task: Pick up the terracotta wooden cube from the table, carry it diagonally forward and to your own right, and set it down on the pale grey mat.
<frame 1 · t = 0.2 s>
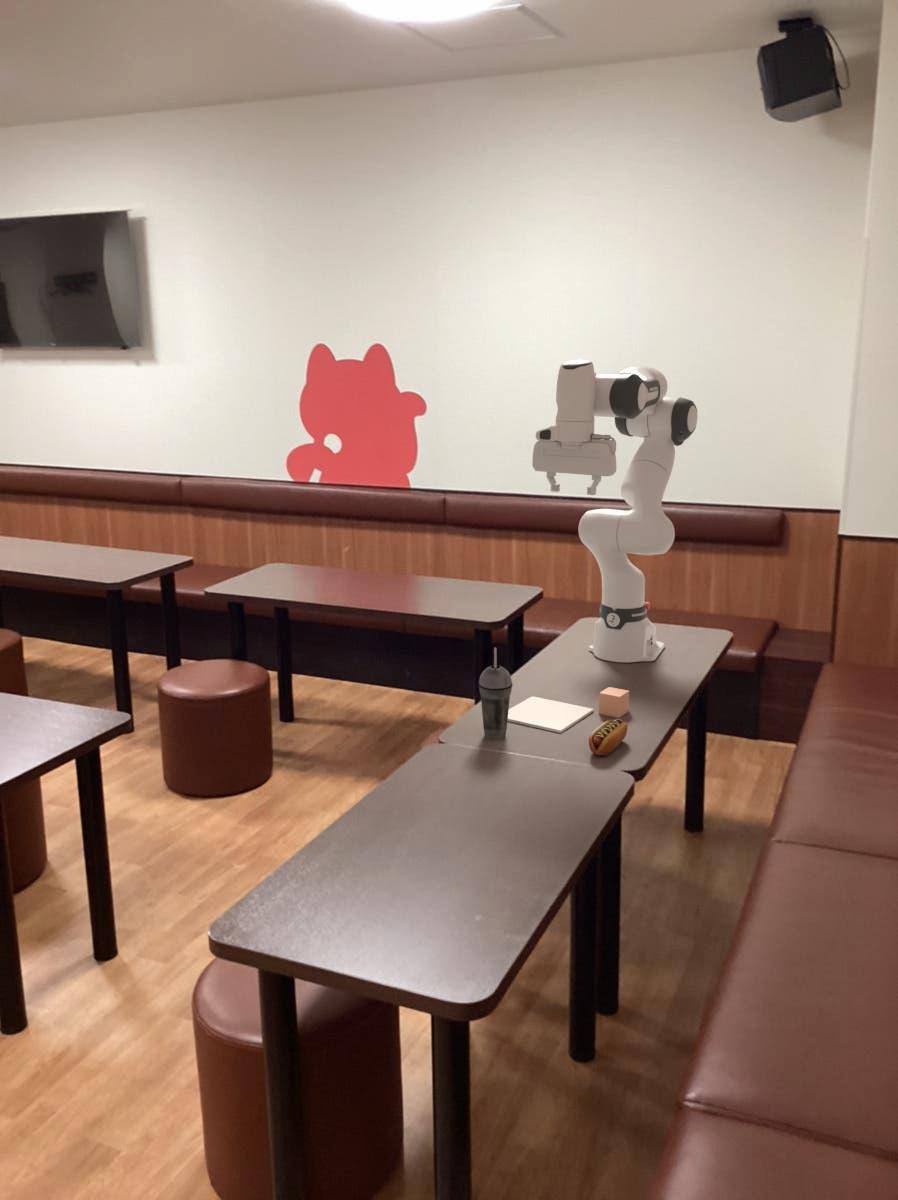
hand: (573, 493, 242), 47 cm above the table, tool pointing down, fingers open, 8 cm apart
beverage cup: (495, 736, 223), on the table
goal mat: (545, 715, 235), on the table
hot dog: (606, 749, 216), on the table
cube: (613, 712, 237), on the table
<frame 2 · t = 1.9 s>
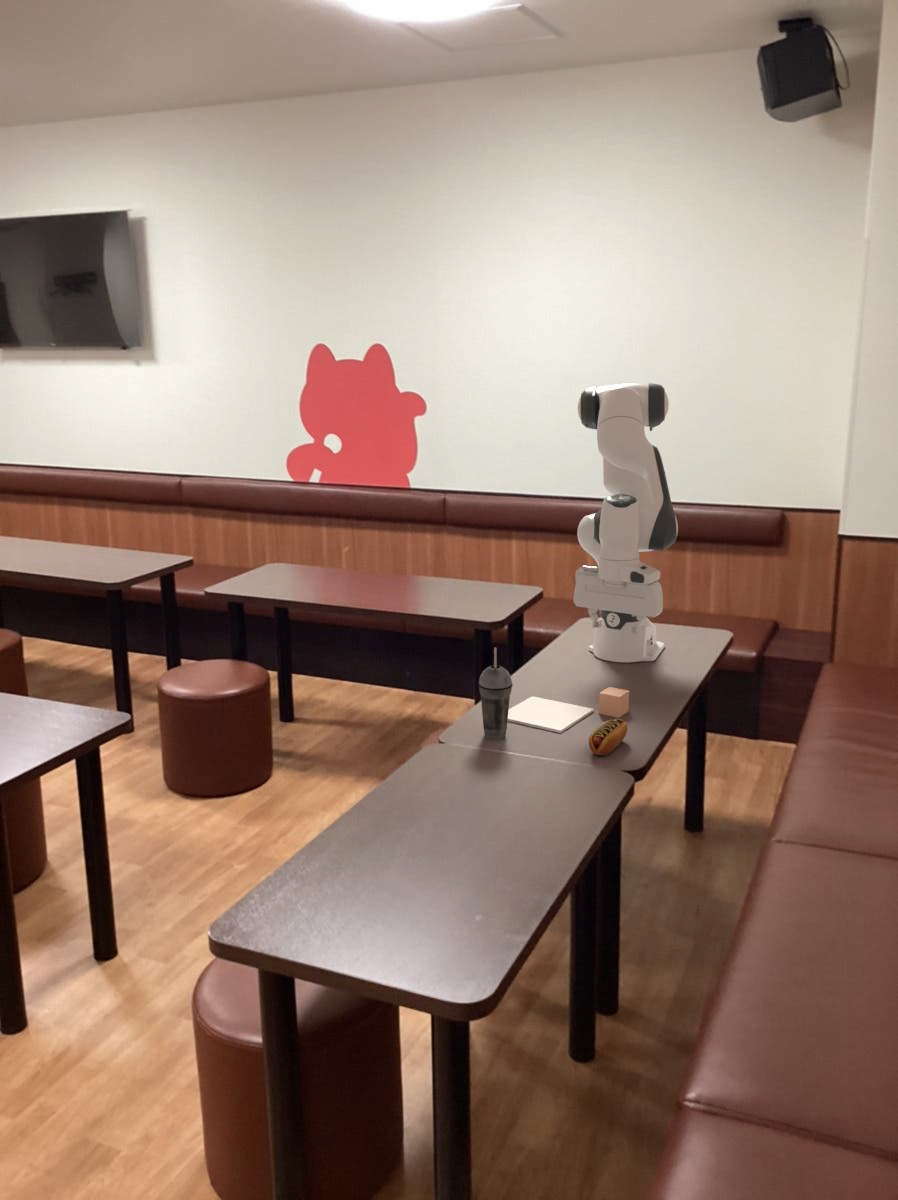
hand: (616, 630, 232), 19 cm above the table, tool pointing down, fingers open, 8 cm apart
nothing on the table moved.
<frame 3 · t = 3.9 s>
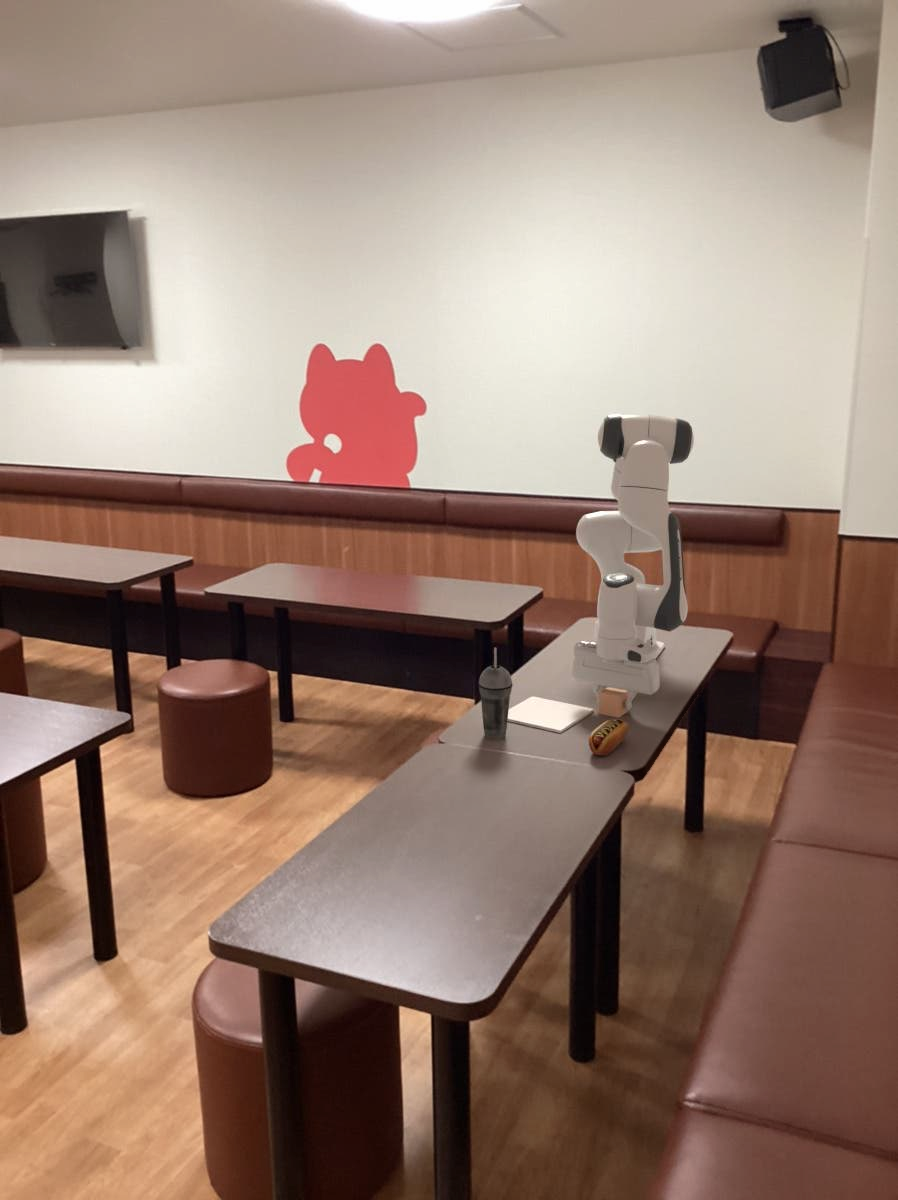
hand: (613, 705, 236), 2 cm above the table, tool pointing down, fingers closed on cube, 5 cm apart
cube: (613, 712, 237), on the table, touching gripper
everything else where it was.
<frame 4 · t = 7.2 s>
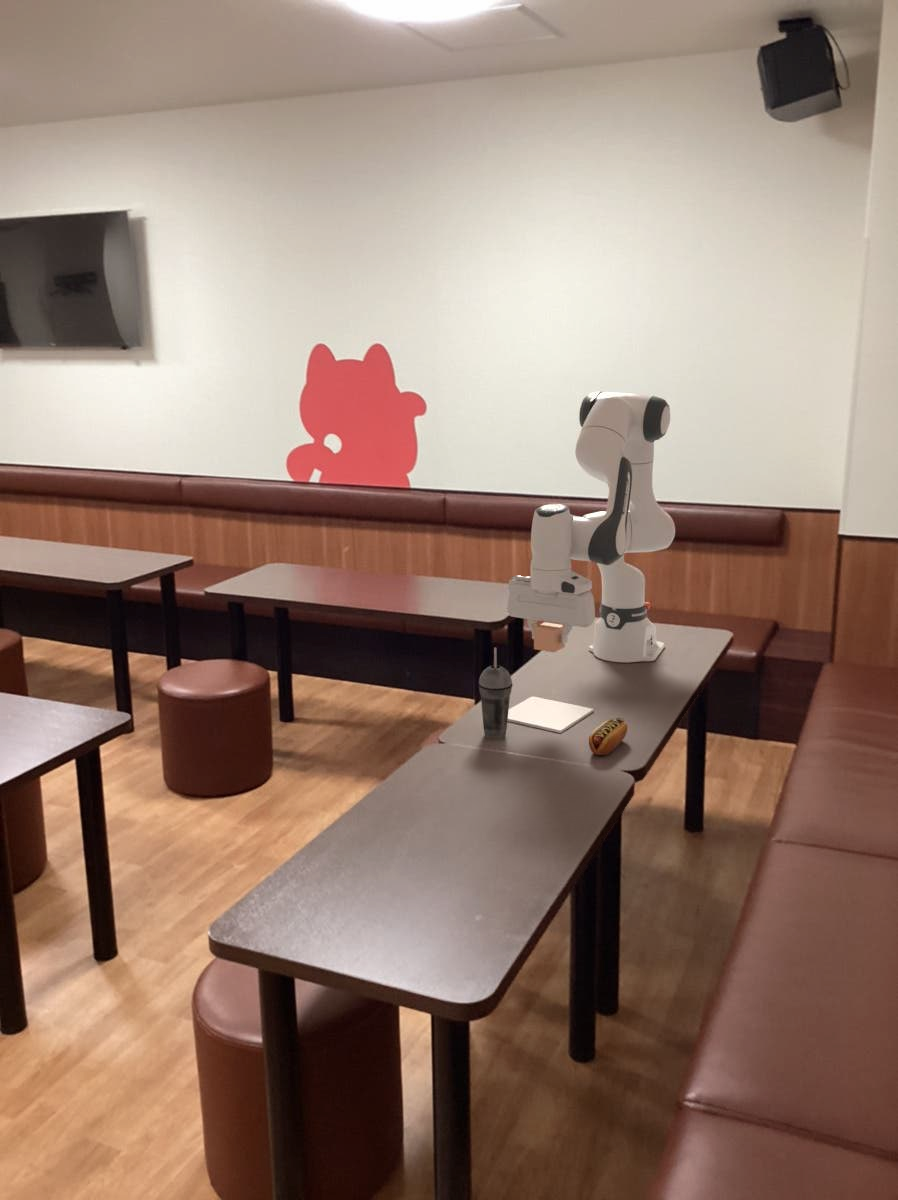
hand: (549, 640, 231), 17 cm above the table, tool pointing down, fingers closed on cube, 5 cm apart
cube: (549, 648, 231), point 16 cm above the table, touching gripper
everything else where it was.
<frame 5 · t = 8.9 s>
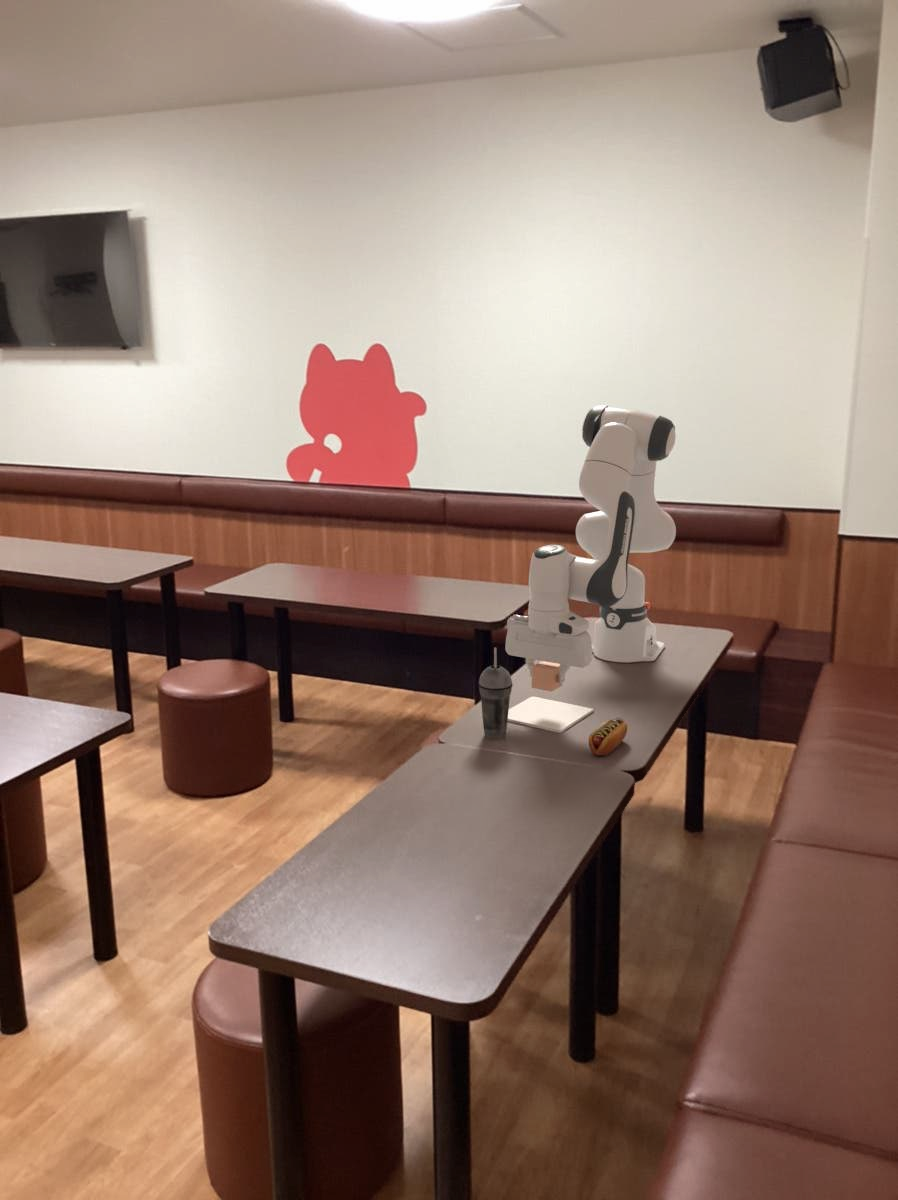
hand: (547, 679, 233), 8 cm above the table, tool pointing down, fingers closed on cube, 5 cm apart
cube: (547, 686, 233), point 7 cm above the table, touching gripper
everything else where it was.
when the fingers open (4 cm above the table, at t = 10.2 s): cube drops 2 cm, resting on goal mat.
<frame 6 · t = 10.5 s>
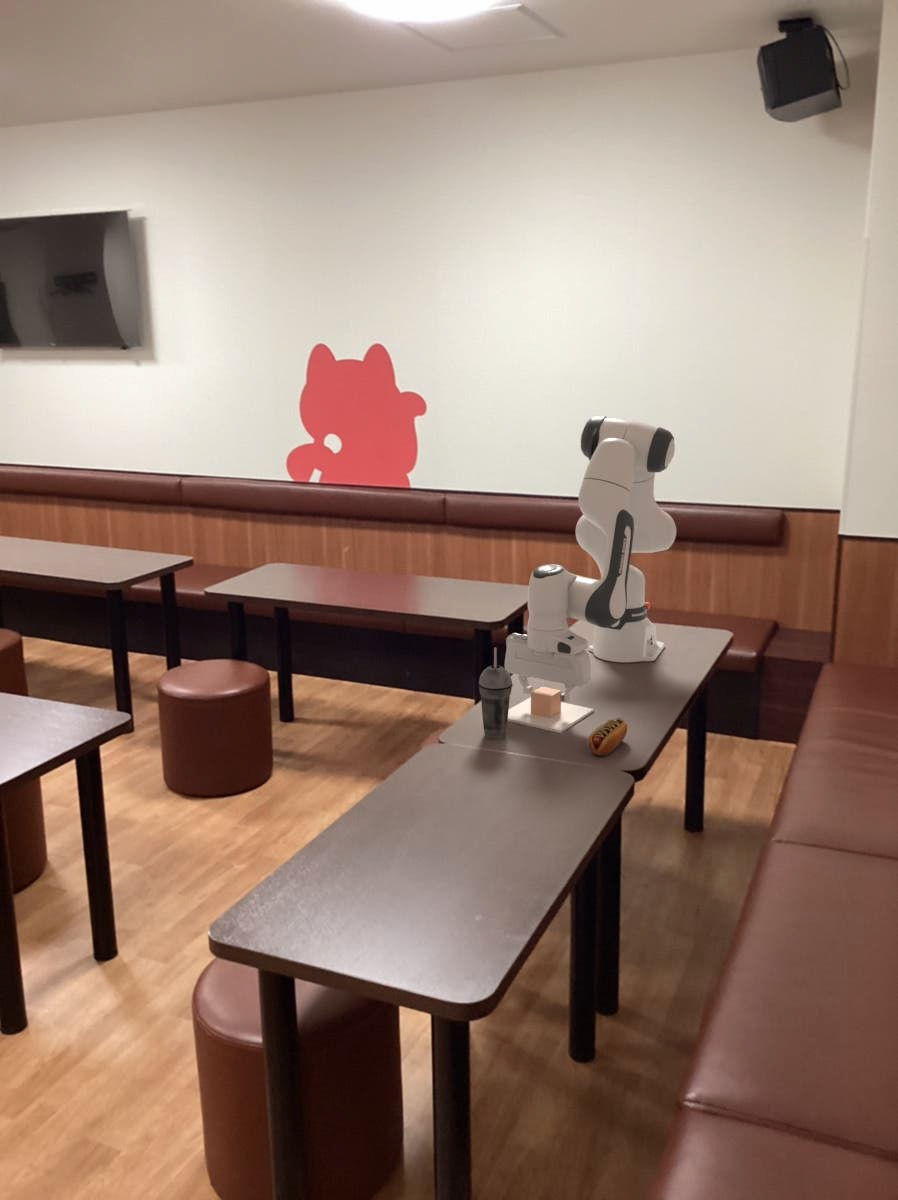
hand: (546, 697, 234), 4 cm above the table, tool pointing down, fingers open, 8 cm apart
cube: (545, 712, 235), point 1 cm above the table, touching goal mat
everything else where it was.
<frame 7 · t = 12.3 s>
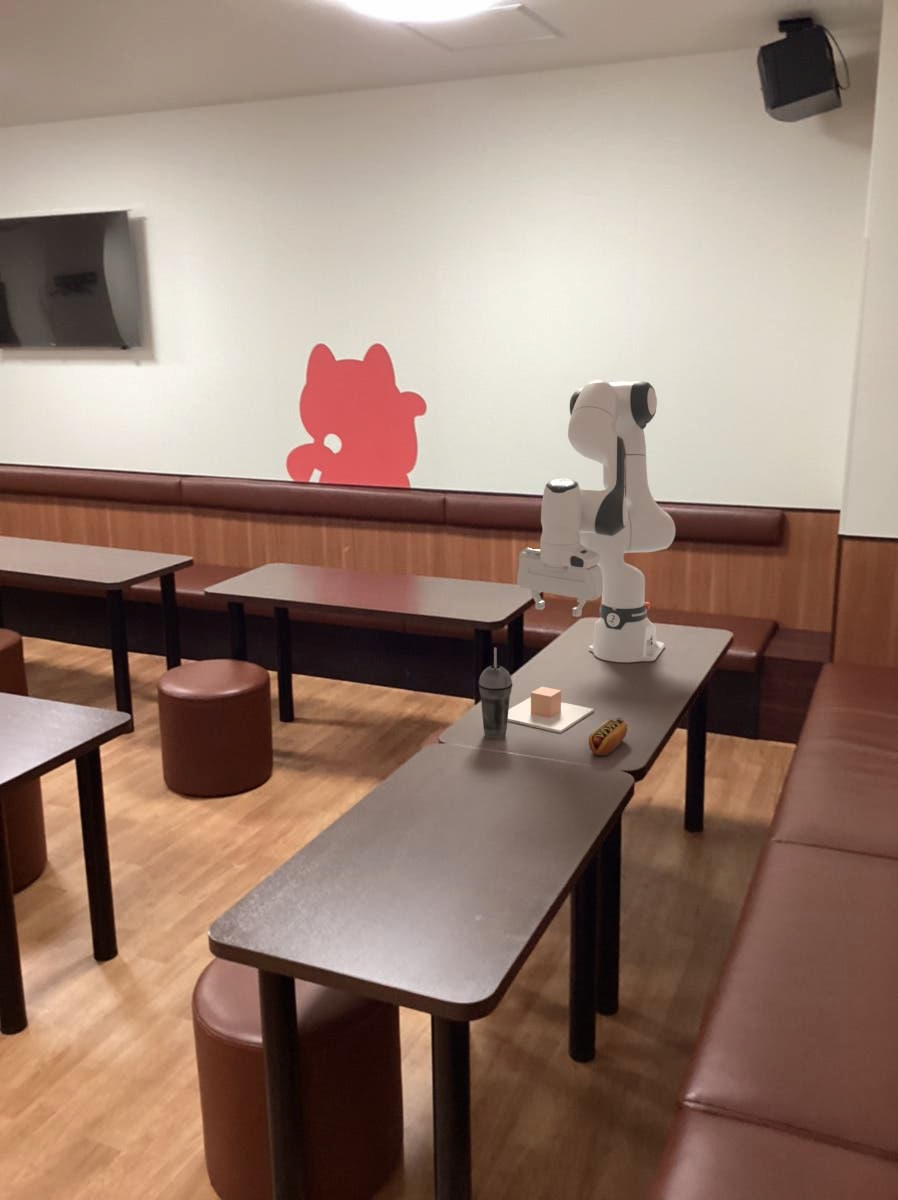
hand: (558, 612, 237), 22 cm above the table, tool pointing down, fingers open, 8 cm apart
nothing on the table moved.
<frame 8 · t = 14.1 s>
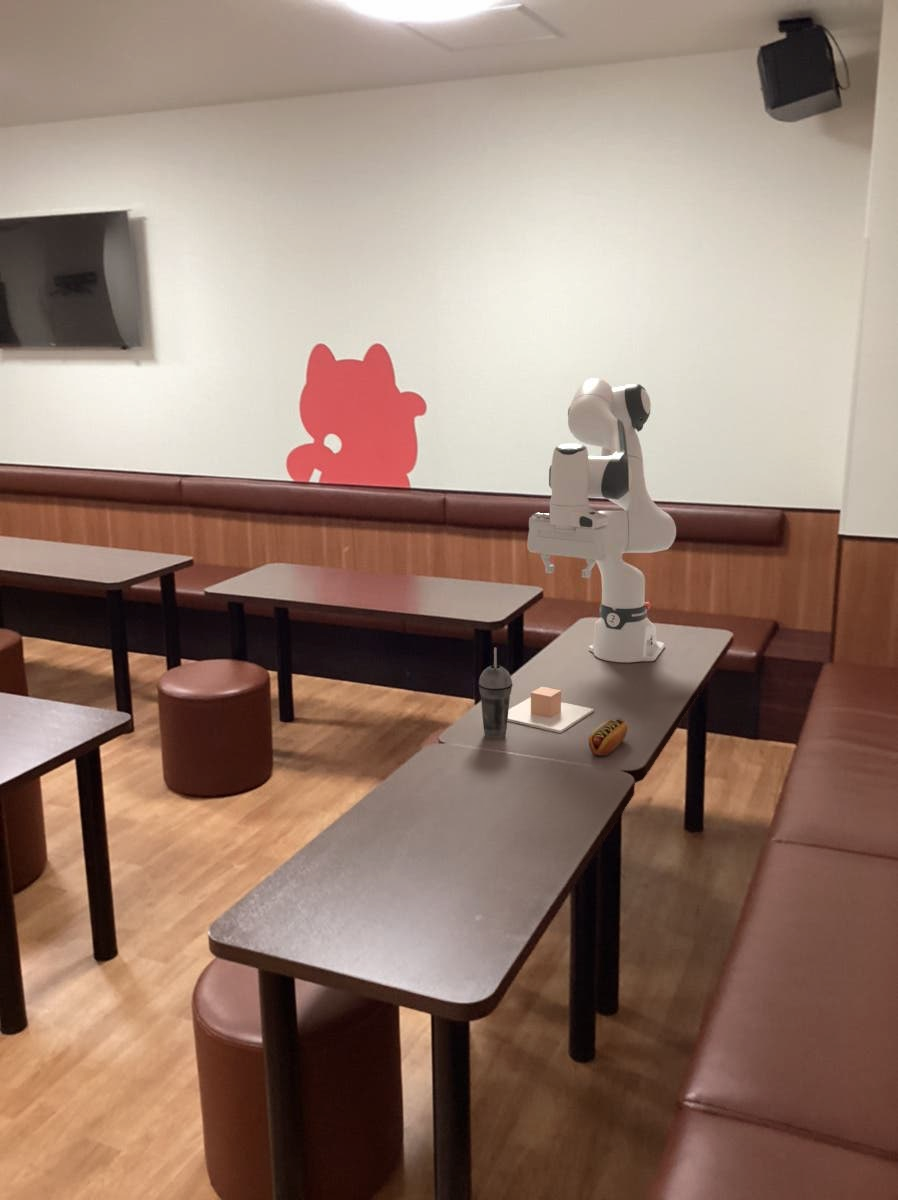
hand: (567, 575, 242), 29 cm above the table, tool pointing down, fingers open, 8 cm apart
nothing on the table moved.
at the end: cube inside the target area on the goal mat (0.0 cm from its centre), point 0.6 cm above the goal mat's base; cube tilted 0°; the gripper is holding nothing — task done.
